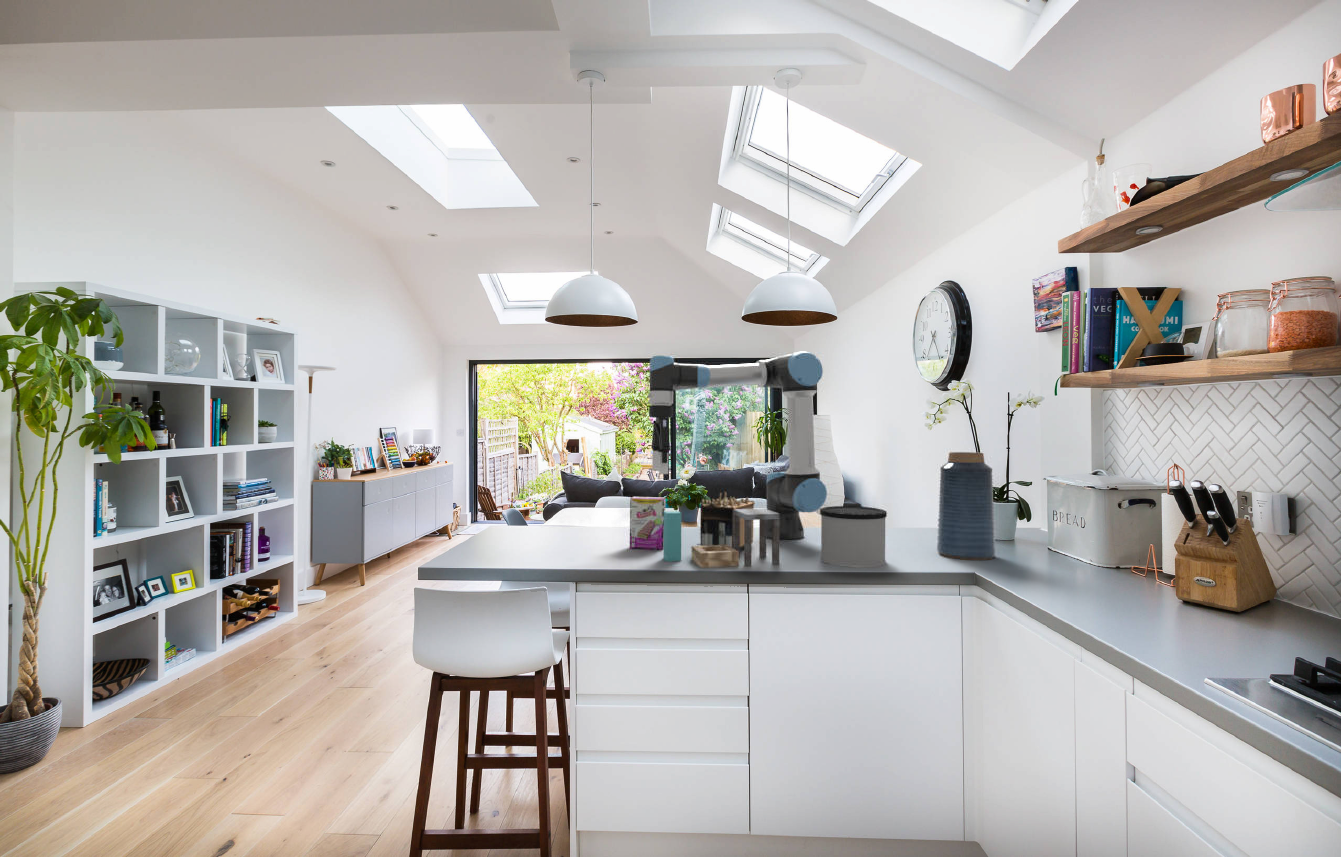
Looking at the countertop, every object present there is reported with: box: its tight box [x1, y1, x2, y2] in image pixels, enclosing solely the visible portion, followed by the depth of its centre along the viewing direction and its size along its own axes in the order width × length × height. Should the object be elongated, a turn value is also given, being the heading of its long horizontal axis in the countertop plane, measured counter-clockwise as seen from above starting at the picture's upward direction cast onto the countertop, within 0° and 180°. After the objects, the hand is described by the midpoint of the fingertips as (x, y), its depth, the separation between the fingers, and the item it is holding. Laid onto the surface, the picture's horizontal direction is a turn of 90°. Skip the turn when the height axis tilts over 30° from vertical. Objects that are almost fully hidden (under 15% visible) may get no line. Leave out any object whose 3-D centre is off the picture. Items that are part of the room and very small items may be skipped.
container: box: [819, 505, 888, 568], centre depth 188 cm, size 19×19×15 cm
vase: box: [936, 451, 996, 561], centre depth 196 cm, size 16×16×32 cm
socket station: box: [691, 508, 780, 568], centre depth 186 cm, size 23×12×14 cm, turn 102°
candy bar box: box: [629, 496, 666, 550], centre depth 207 cm, size 11×5×16 cm, turn 84°
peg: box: [663, 510, 682, 562], centre depth 189 cm, size 4×4×14 cm
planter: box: [690, 491, 756, 552], centre depth 206 cm, size 25×25×19 cm
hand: (659, 472), depth 201 cm, fingers open, 13 cm apart
